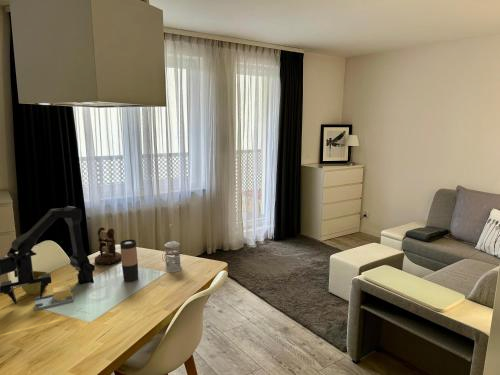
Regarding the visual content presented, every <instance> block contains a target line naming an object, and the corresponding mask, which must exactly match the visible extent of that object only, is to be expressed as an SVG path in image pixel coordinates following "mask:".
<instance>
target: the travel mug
mask: <svg viewBox="0 0 500 375" xmlns="http://www.w3.org/2000/svg"><path fill="white" fill-rule="evenodd" d="M119 244H120V246H119V247H120V254H121V259H120V260H121V267H122V269H121V270H122V277H123V278H122V279H123V281H124V282H125V283H133V282H135V281H138V280H139V262H138V261H139V260H138V251H137V241H136V239H125V240H122V241H120V243H119Z"/></svg>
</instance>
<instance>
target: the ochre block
mask: <svg viewBox="0 0 500 375" xmlns="http://www.w3.org/2000/svg"><path fill="white" fill-rule="evenodd" d="M71 288H72V287H71V284H68V285H64V286H63V285H62V286H58V287H54V288H52V294H53V296H54V300H61V299H66V297H69V296H71V290H72V289H71ZM66 300H67V299H66Z"/></svg>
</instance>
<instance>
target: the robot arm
mask: <svg viewBox="0 0 500 375" xmlns="http://www.w3.org/2000/svg"><path fill="white" fill-rule="evenodd" d="M82 217H83V216H82V209H81V208H79V207H76V206H70V205H67V206H65V207H64V208H63V207H61V208H60V207H59V208H50V209H49V210H48V211H47V213H45V215H44V216H42V217H41V219H39V220H38V222H36V223H35V224H34V225H33V226H32V227H31V228H30V229H29V230H28V231H27V232H25V233H23V234H21V235H18V237H16V238H15V239H14V240H13V241H12V242H11V246H10V248H9V250H8V252H7V253H6V256H5V257H0V276H2V275H6V274H9V273H12V272H13V273H14V277H15V278H17V281H15V282H12V280H7V281H2V282H0V294H4V295H7V296H8V297H9V298H10V299H11V300H12V302H13V303H14V304H15V305H17V303H18V302H17V298H16V293H15V291H14V288H16V287H17V288H18V287H22V286H23V285H28V284H33V283H38V282H41V284H40V293H39V297H40V299H41V298H42V296H44V295H43V293H44V291H45V290H46V289H45V287H46V286H47V287H48V286H49V284H51V283H52V275H51V273H50V272H49V273H48V274H43V275H41V278H36V279H34V272H33V271H34V270H33V269H34V268H33V261H32V259H33V258H32V257H33V256H36V255H37V253H36V252H35V251H33V248H34V247H35V245H36V243H37V240H38V239H39V238H40V237H41V236H42V235H43V233H45V231H46V230H48V229H49V227H50V226H51V225H53V223H54V222H55V221H56V220H57V219H64V221H65V223H66V224H67V226H68V229H69V235H70V241H71V247H72V255H71V256H69V262H70V263H69V265H71V266H72V268H73V269H75V271H77V272H78V273H77V274H76V275H77V283H78V284H79V285H86V284H90V283H91V284H93V283H95V280H94V274H93V272H94V271H95V268H96V265H94V264H93V263H91V262H90V259H89V256H88V255H87V254H86V252H85V249H84V248H85V247H84V242H83V236H82V230H81V229H82V228H81V225H80V224H81V221H82V219H83V218H82ZM44 289H45V290H44Z"/></svg>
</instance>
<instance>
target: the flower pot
mask: <svg viewBox="0 0 500 375" xmlns="http://www.w3.org/2000/svg"><path fill="white" fill-rule="evenodd" d="M33 272H34V279H36V278H41V275H43V274H48V273H49V274H50V272H49V271H42V270H33ZM40 284H41V282H38V283H33V284H28V285H23V286H21V289H22V291H24V292H25V293H26V294H27V295H34V296H35V295H36V296H37V295H40ZM47 287H48V286H46V287H45V289H44V291H46V289H47Z"/></svg>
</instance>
